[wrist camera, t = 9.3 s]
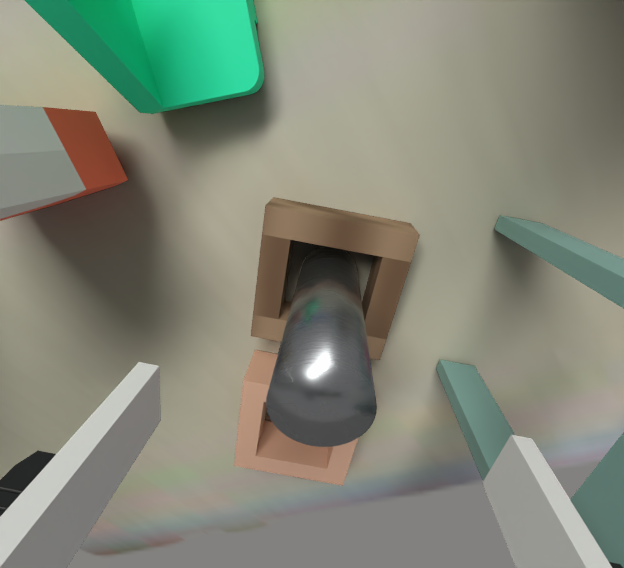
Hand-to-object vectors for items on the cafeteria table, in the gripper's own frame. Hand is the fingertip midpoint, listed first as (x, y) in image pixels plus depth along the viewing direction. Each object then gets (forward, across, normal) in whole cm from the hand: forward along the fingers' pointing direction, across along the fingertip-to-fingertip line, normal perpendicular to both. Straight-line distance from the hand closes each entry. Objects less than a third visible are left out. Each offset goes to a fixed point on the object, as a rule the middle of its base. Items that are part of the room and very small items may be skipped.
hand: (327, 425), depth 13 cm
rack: (+15, 0, -14) cm, 20 cm away
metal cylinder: (+15, 0, 0) cm, 15 cm away
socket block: (+15, 0, 0) cm, 15 cm away
